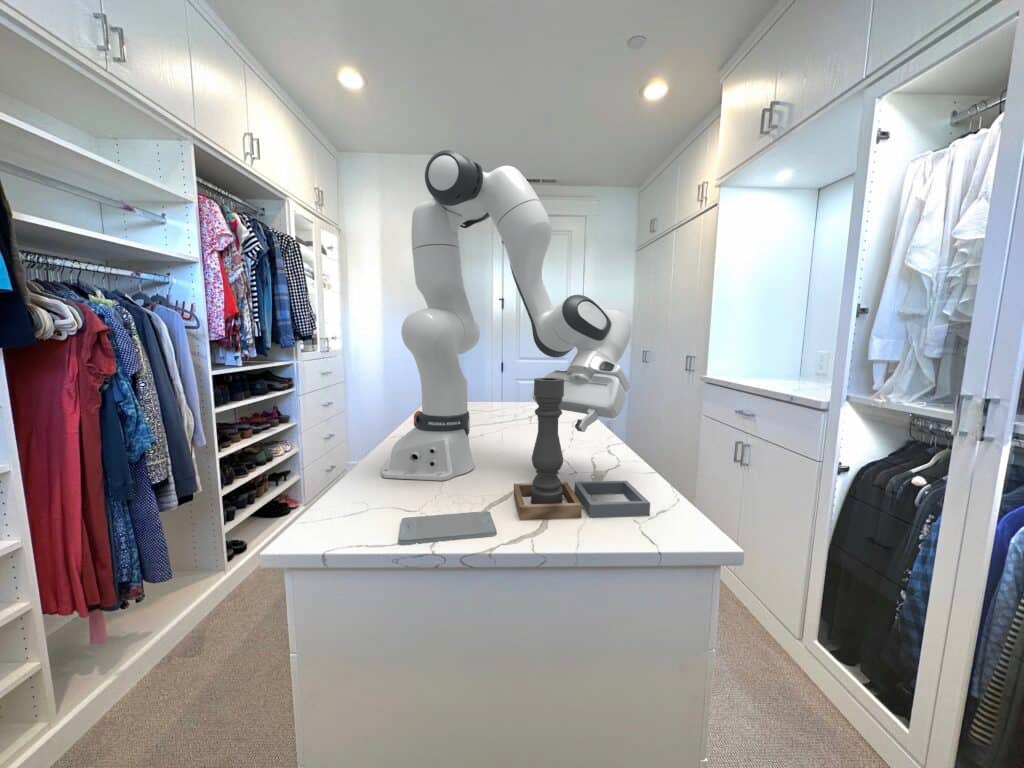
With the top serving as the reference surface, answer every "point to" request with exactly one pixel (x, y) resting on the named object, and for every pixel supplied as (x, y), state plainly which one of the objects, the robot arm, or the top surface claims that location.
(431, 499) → the top surface
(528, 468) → the top surface
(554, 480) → the candle holder
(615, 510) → the charcoal frame
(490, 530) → the phone
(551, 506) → the walnut frame
